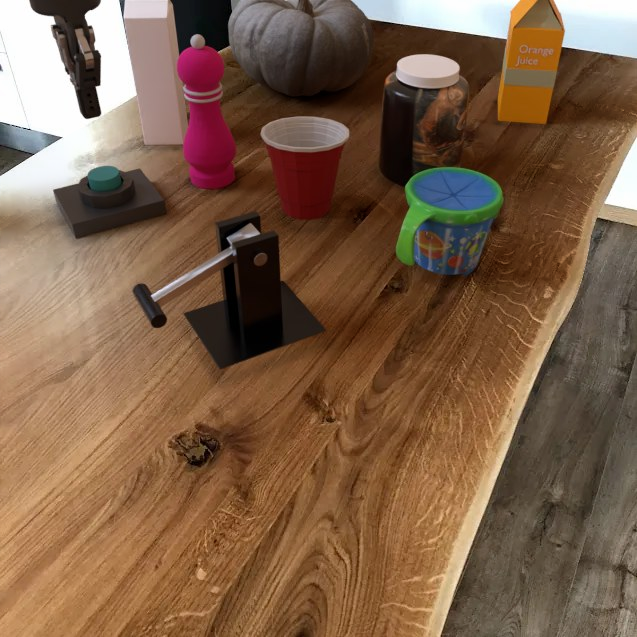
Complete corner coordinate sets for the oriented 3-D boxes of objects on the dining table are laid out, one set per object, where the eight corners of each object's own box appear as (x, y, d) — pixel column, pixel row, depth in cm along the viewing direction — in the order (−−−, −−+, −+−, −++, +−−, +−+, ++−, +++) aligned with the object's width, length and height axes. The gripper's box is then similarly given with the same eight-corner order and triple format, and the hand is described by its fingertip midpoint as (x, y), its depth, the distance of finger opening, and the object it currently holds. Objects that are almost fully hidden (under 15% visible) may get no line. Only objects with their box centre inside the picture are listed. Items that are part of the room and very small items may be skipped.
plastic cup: (355, 198, 99) (357, 114, 91) (338, 241, 91) (340, 153, 83) (277, 189, 101) (274, 106, 93) (255, 231, 93) (248, 143, 85)
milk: (151, 129, 116) (126, -20, 102) (189, 128, 116) (170, -20, 102) (144, 146, 111) (118, -7, 97) (184, 145, 111) (163, -8, 98)
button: (95, 195, 93) (92, 183, 92) (86, 182, 95) (83, 170, 94) (125, 187, 94) (123, 175, 93) (116, 174, 97) (114, 163, 96)
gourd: (195, 69, 128) (204, -37, 118) (291, 55, 145) (306, -39, 135) (298, 124, 117) (319, 12, 106) (389, 102, 133) (414, 3, 123)
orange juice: (543, 102, 123) (568, -25, 110) (546, 124, 116) (574, -8, 104) (496, 99, 124) (515, -28, 111) (496, 120, 117) (517, -11, 105)
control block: (75, 239, 91) (68, 211, 89) (56, 203, 98) (49, 177, 96) (167, 214, 96) (162, 187, 93) (142, 182, 103) (137, 156, 100)
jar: (365, 178, 103) (369, 73, 94) (395, 144, 111) (401, 44, 102) (445, 196, 99) (458, 88, 90) (470, 159, 107) (484, 57, 98)
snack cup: (460, 223, 94) (470, 151, 87) (523, 261, 87) (539, 186, 81) (365, 265, 87) (369, 189, 80) (426, 310, 80) (434, 231, 74)
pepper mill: (225, 195, 100) (210, 47, 87) (178, 186, 102) (156, 41, 89) (246, 170, 105) (235, 28, 92) (201, 163, 107) (184, 22, 94)
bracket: (221, 378, 72) (207, 273, 64) (184, 322, 79) (168, 220, 71) (326, 339, 77) (326, 236, 68) (283, 289, 83) (279, 190, 75)
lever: (157, 334, 68) (145, 317, 66) (138, 302, 72) (127, 286, 70) (276, 259, 70) (268, 241, 68) (251, 232, 74) (243, 214, 72)
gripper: (8, -48, 81) (47, 103, 92) (34, -20, 72) (74, 144, 83) (76, -56, 84) (106, 91, 95) (109, -30, 74) (138, 129, 85)
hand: (91, 115), depth 89 cm, fingers closed
